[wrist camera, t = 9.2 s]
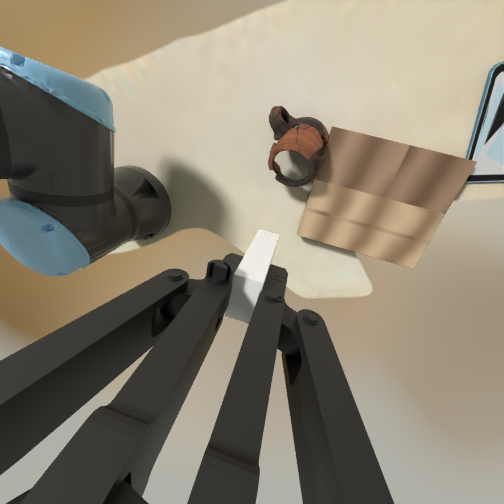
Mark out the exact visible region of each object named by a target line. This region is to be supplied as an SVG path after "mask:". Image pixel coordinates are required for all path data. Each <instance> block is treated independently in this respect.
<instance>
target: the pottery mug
mask: <svg viewBox="0 0 504 504" xmlns="http://www.w3.org/2000/svg"><path fill="white" fill-rule="evenodd" d="M269 123H270V125H271V128H272V129H273V131H274V139H275V140H279V141H278V143H277V144H276V143H274V144H273V146H272V148H271V151H270V156H269V160H268V165H269V169H270V170H273V171H274V172H275V173H276V174H277V175H276V177H275V178H276V180H277V181H279V182H280V183H282V184H284V185H286V186H291V187H293V186H294V187H299V186H303V185H305V184H307V183H308V182H310V181H311V180H312V179H314V178H315V177H317V176H318V174H315V173H316V172H318V171H319V170H320V169H321V167H322V165H323V164H324V163H325V156H322V157H319V156H315V155H313V154H314V153H316V152H317V151H318V150H319V149H321V148H322V147H323V140H322V138H321V137H322V135H323V137H324V140H325V142H328V139H329V137H328V132H327V130H326V128H325V126H324V125H323V124H322V123H321V122H320V121H318V120H317V119H314V118H312V117H302V118H297V119H295V118H293V117H292V116H291V115H290V114H289V113H288V112H287V110H286V109H285V108H284V107H282V106H277V107H276V106H275V107H273V108H272V109H271V112H270V115H269ZM295 126H297V129H296V128H293V127H295ZM285 150H291V151H295V152H298V153H300V154H301V155H303V156H304V157H305V158H306V160H308V163H309V166H310V171H309V174H308V176H307V177H305V178H304V179H301V180H292V179H289V178H287V177H285V176H284V175H282V174H281V173H280V172H279V165H278V164H277V163H276V162H275V161H274V159H275V156H276V155H277V154H278V153H279V152H281V151H285Z"/></svg>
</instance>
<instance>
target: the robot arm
mask: <svg viewBox="0 0 504 504" xmlns="http://www.w3.org/2000/svg"><path fill="white" fill-rule="evenodd" d="M114 132H115V133H116V130H115V128H114V122H113V105H112V101H111V99H110V97H109V95H108V94H107V93H106V92H105V91H104V90H103V89H102V88H100V87H98V86H96V85H94V84H92V83H89V82H87V81H84V80H82V79H80V78H77V77H75V76H72V75H70V74H67V73H65V72H63V71H60V70H58V69H55V68H52V67H50V66H47V65H45V64H42V63H40V62H37V61H35V60H32V59H29V58H26V57H24V56H22V55H19V54H17V53H14V52H11V51H9V50H7V49H4V48H2V47H0V179H7V181H8V186H9V191H10V196H11V197H10V198H3V199H1V200H0V243H1V244H2V246H3V247H4V248H5V249H6V250H7V251H8V252H9V253H10V254H11V255H12V256H13V257H15V259H17V260H18V261H19V262H20V263H22V264H23V265H25V266H26V267H28V268H30V269H32V270H34V271H36V272H38V273H41V274H44V275H48V276H65V275H68V274H70V273H72V272H74V271H76V270H78V269H80V268H85V267H86V266H88V265H89V264H91V263H93V262H95V261H96V260H98V259H99V258H101V257H103V256H105V255H106V254H108V253H110V252H111V251H113V250H115V249H116V248H118V247H120V246H121V245H123V244H125V243H127V242H130V241H140V240H147V239H150V238H153V237H155V236H156V235H158V234H159V233H161V232H162V231H163V230H164V229H165V228H166V226H167V225H168V223H169V220H170V214H171V207H170V201H169V198H168V195H167V193H166V191H165V189H164V187H163V186H162V184H161V183H160V182H159V181H158V179H157V178H156V177H155V176H153V175H152V174H151V173H150V172H148V171H146V170H144V169H142V168H140V167H136V166H122V167H116V168H114ZM278 238H279V235H278V234H274V233H271V232H267V231H264V230H261V229H259V231H258V233H257V234H256V236H255V238H254V240H253V241H252V243H251V245H250V247H249V249H248V250H247V252H246V254H245V256H244V257H243V256H240V255H236V254H233V253H231V254H228V255H226V256H225V258H224V259H223V260H213V261H210V262H209V263H208V266H207V273H206V277H205V278H204V279H203V280H195V279H189V275H188V273H187V272H185V271H183V270H181V269H169V270H166V271H164V272H162V273H160V274H158V275H156V276H155V277H153V278H151V279H149V280H147V281H145V282H144V283H142V284H140V285H138V286H136V287H134V288H133V289H131V290H129V291H127V292H125V293H124V294H122V295H120V296H118V297H116V298H114V299H113V300H111V301H109V302H107V303H105V304H104V305H101V306H100V307H98V308H96V309H94V310H92V311H90V312H89V313H87V314H85V315H83V316H81V317H80V318H78V319H76V320H74V321H72V322H70V323H69V324H67V325H65V326H63V327H61V328H60V329H58V330H56V331H54V332H52V333H50V334H48V335H47V336H45V337H43V338H41V339H39V340H37V341H36V342H34V343H32V344H30V345H28V346H26V347H25V348H23V349H21V350H19V351H17V352H16V353H14V354H12V355H10V356H8V357H6V358H5V359H3V360H1V361H0V475H1V474H3V473H4V472H5V471H6V470H8V469H9V468H10V467H11V466H13V465H14V464H15V463H16V462H17V461H19V460H20V459H21V458H22V457H23V456H25V455H26V454H27V453H28V452H29V451H31V450H32V449H33V448H34V447H35V446H36V445H38V444H39V443H40V442H41V441H42V440H43V439H45V438H46V437H47V436H48V435H49V434H50V433H51V432H53V431H54V430H55V429H56V428H57V427H59V426H60V425H61V424H62V423H63V422H64V421H66V420H67V419H68V418H69V417H70V416H71V415H73V414H74V413H75V412H76V411H77V410H79V409H80V408H81V407H82V406H83V405H84V404H86V403H87V402H88V401H89V400H90V399H92V398H93V397H94V396H95V395H96V394H97V393H99V392H100V391H101V390H102V389H103V388H104V387H106V386H107V385H108V384H109V383H110V382H111V381H113V380H114V379H115V378H116V377H117V376H118V375H119V374H121V373H122V372H123V371H124V370H125V369H126V368H128V367H129V366H130V365H131V364H133V363H134V362H135V361H136V360H137V359H138V358H139V357H141V356H142V355H143V354H144V353H145V352H147V351H148V350H149V349H150V348H151V347H152V346H153V348H152V349H151V350H150V351H149V353H148V354H147V355H146V357H145V358H144V360H143V361H142V362H141V363H140V365H139V366H138V367H137V369H136V370H135V371H134V373H133V374H132V375H131V377H130V378H129V380H128V381H127V382H126V383H125V385H124V386H123V387H122V389H121V390H120V391H119V393H118V394H117V395H116V397H115V398H114V399H113V400H112V402H111V403H110V404H108V405H107V406H101V407H99V408H98V409H96V410H95V411H94V412H93V413H92V414H91V415H90V416H89V417H88V419H87V420H86V421H85V422H84V423H83V425H82V426H81V427H80V429H79V430H78V431H77V432H76V434H75V435H74V436H73V437H72V439H71V440H70V441H69V442H68V444H67V445H66V446H65V447H64V449H63V450H62V451H61V452H60V454H59V455H58V456H57V458H56V459H55V460H54V461H53V463H52V464H51V465H50V466H49V468H48V469H47V470H46V471H45V473H44V474H43V475H42V477H41V478H40V479H39V480H38V481H37V483H36V484H35V485H34V486H33V488H31V489H30V490H28V491H26V492H24V493H23V494H21V495H19V496H18V497H16V498H14V499H13V500H11V501H9V502H8V503H6V504H148V503H147V502H146V501H145V500H144V499H143V498H142V495H143V493H144V490H145V488H146V485H147V482H148V479H149V476H150V473H151V470H152V468H153V466H154V464H155V461H156V459H157V457H158V455H159V453H160V451H161V449H162V447H163V444H164V443H165V440H166V438H167V436H168V434H169V432H170V430H171V428H172V426H173V423H174V422H175V419H176V417H177V415H178V413H179V411H180V409H181V407H182V405H183V403H184V401H185V398H186V396H187V394H188V392H189V390H190V388H191V386H192V384H193V382H194V380H195V378H196V376H197V374H198V371H199V369H200V367H201V365H202V363H203V361H204V359H205V357H206V355H207V353H208V351H209V348H210V346H211V344H212V342H213V340H214V338H215V336H216V334H217V332H218V330H219V328H220V325H221V323H222V320H223V315H224V313H225V311H226V313H225V316H228V317H231V318H234V319H237V320H240V321H243V322H246V323H249V326H248V328H247V332H246V334H245V337H244V340H243V343H242V346H241V349H240V352H239V355H238V358H237V361H236V364H235V367H234V370H233V373H232V376H231V379H230V382H229V385H228V388H227V391H226V394H225V396H224V399H223V402H222V405H221V408H220V411H219V414H218V417H217V420H216V423H215V426H214V429H213V432H212V435H211V438H210V441H209V443H208V446H207V448H206V451H205V453H204V456H203V459H202V462H201V465H200V468H199V470H198V474H197V476H196V480H195V482H194V485H193V488H192V491H191V494H190V497H189V500H188V503H187V504H255V503H256V497H257V491H258V483H259V475H260V468H259V455H260V449H261V442H262V436H263V431H264V425H265V419H266V412H267V406H268V400H269V394H270V388H271V382H272V376H273V370H274V364H275V358H276V352H277V349H279V350H280V351H282V361H283V368H284V375H285V382H286V389H287V396H288V403H289V410H290V416H291V424H292V431H293V438H294V445H295V451H296V458H297V465H298V472H299V479H300V486H301V493H302V500H303V504H394V502H393V499H392V497H391V494H390V492H389V489H388V486H387V484H386V481H385V479H384V476H383V473H382V471H381V468H380V466H379V463H378V460H377V458H376V455H375V452H374V450H373V447H372V445H371V442H370V439H369V437H368V434H367V432H366V429H365V426H364V424H363V421H362V419H361V416H360V414H359V411H358V408H357V406H356V403H355V400H354V398H353V395H352V393H351V390H350V387H349V385H348V382H347V379H346V377H345V375H344V372H343V369H342V367H341V364H340V361H339V359H338V356H337V353H336V351H335V348H334V346H333V343H332V340H331V338H330V335H329V333H328V330H327V327H326V325H325V322H324V320H323V319H322V317H321V316H320V315H319V314H317V313H316V312H314V311H311V310H307V309H303V310H300V311H299V312H296V311H294V310H293V309H291V308H290V307H289V306H288V305H287V304H286V303H285V300H284V294H285V288H286V283H287V277H288V273H287V271H286V269H284V268H281V267H278V266H274V265H271V261H272V258H273V255H274V251H275V248H276V244H277V241H278Z"/></svg>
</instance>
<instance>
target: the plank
mask: <svg viewBox="0 0 504 504" xmlns="http://www.w3.org/2000/svg"><path fill="white" fill-rule="evenodd" d="M444 215H445V214H443V213H439V212H435V211H432V210H428V209H424V208H420V207H417V206H413V205H409V204H405V203H402V202H398V201H394V200H390V199H387V198H383V197H379V196H375V195H371V194H368V193H364V192H360V191H356V190H353V189H349V188H345V187H341V186H338V185H334V184H330V183H326V182H323V181H319V180H315V179H314V182H313V185H312V188H311V191H310V195H309V198H308V201H307V204H306V207H305V210H304V213H303V216H302V219H301V222H300V225H299V228H298V231H297V235H299V236H302V237H306V238H309V239H312V240H316V241H319V242H323V243H326V244H330V245H333V246H336V247H340V248H343V249H347V250H350V251H354V252H357V253H361V254H364V255H368V256H371V257H375V258H378V259H381V260H385V261H388V262H391V263H395V264H398V265H402V266H405V267H409V268H412V269H415V267H416V265H417V263H418V262H419V260H420V258H421V256H422V254H423V253H424V251H425V249H426V247H427V245H428V244H429V242H430V240H431V238H432V236H433V235H434V233H435V231H436V229H437V227H438V226H439V224H440V222H441V220H442V218H443V217H444Z"/></svg>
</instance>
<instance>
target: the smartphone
mask: <svg viewBox="0 0 504 504" xmlns="http://www.w3.org/2000/svg"><path fill="white" fill-rule="evenodd" d="M466 159H468V160H472V161H476V162H477V163H476V165H475V167H474V168H473V170H472V171H471V173H470V175H469V176H468V178H467V179H466V181H465V183H479V182H504V62H501V63H498V64H496V65H495V66H493V67H492V68H491V70H490V71H489V74H488V77H487V81H486V85H485V88H484V92H483V96H482V99H481V103H480V107H479V111H478V114H477V118H476V122H475V125H474V129H473V133H472V137H471V140H470V144H469V148H468V151H467V155H466Z"/></svg>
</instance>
